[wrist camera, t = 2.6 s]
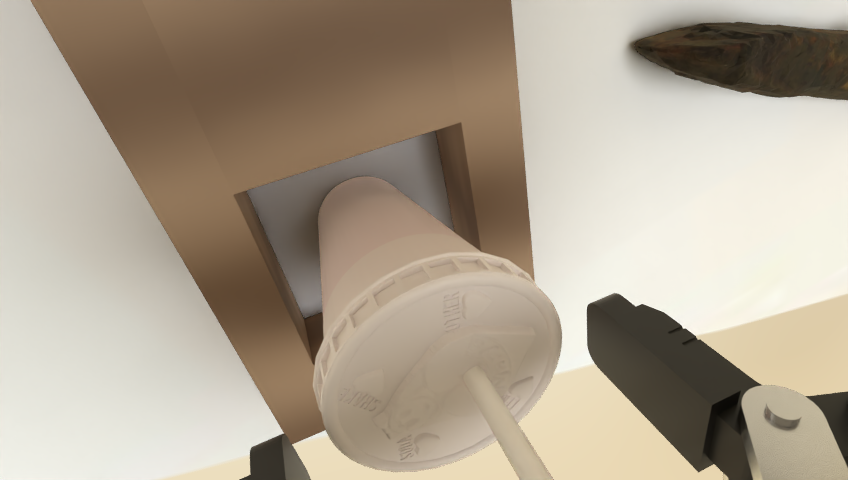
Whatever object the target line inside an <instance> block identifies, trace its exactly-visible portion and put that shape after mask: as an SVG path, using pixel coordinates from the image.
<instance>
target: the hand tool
mask: <svg viewBox="0 0 848 480" xmlns="http://www.w3.org/2000/svg"><path fill="white" fill-rule="evenodd" d="M634 45H635V48H636V50H637V52H639V53H640V54H641V55H643V56H644V57H646V58H647V59H648V60H649V61H651V62H655V63H657V64H658V65H660V66H663V67H666V68H669V69H670V70H671V71H672V72H674V73H675V74H676V75H679V76H683V77H687V78H690V79H694V80H699V81H702V82H704V83H707V84H711V85H717V86H719V87H723V88H727V89H731V90H735V91H739V92H742V93H743V92H752V93H755V94H759V95H764V96H770V97H779V98H780V97H795V96H811V97H817V98H818V97H820V98H827V99H837V100H848V31H842V30H823V29H808V28H798V27H790V26H783V25H759V24H752V23H743V22H736V23H704V24H699V25H697V26H693V27H685V28H681V29H677V30H673V31H668V32H664V33H661V34H658V35H655V36H651V37H647V38H644V39H641V40H639V41H637V42H636V43H635V44H634Z"/></svg>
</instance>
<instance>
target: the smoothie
mask: <svg viewBox="0 0 848 480" xmlns="http://www.w3.org/2000/svg"><path fill="white" fill-rule="evenodd" d="M318 232H319V251H320V270H321V289H322V307H323V335H324V339H323V342H322V344H321V346H320V349H319V351H318V353H317V355H316V359H315V369H314V378H313V388H314V392H315V396H316V399H317V403H318V407H319V410H320V412H321V413H322V418H323V423H324V426H325V429H326V432H327V434H328V436H329V437H330V439H331V441H332V442H333V443H334V445H335V446H336V447H337V448H338V449H339V450H340V451H341V452H342V453H343V454H344V455H346V456H347V457H348V458H350V459H351V460H353V461H355V462H357V463H359V464H361V465H364V466H367V467H370V468H373V469H377V470H383V471H391V472H415V471H421V470H427V469H433V468H438V467H441V466H444V465H447V464H450V463H454V462H456V461H459V460H461V459H463V458H466V457H468V456H470V455H472V454H475V453H477V452H478V451H480V450H482V449H484V448H485V447H487V446H489V445H490V444H492V443H494V442H495V441H496V440H497V441H498V442H499V444H500V446H501V448H502V449H503V451H504V453H505V455H506V456H507V458H508V460H509V462H510V463H511V465H512V467H513V469H514V470H515V472H516V474H517V475H518V477H519V479H520V480H554V479H553V478H552V476H551V475H550V473H549V472H548V470H547V468H546V467H545V465H544V464H543V462H542V461H541V459H540V457H539V456H538V455H537V453H536V451H535V450H534V448H533V447H532V445H531V443H530V442H529V440H528V439H527V437H526V436H525V434H524V433H523V431H522V430H521V428H520V426H519V425H518V423H519V422H520V421H521V420H522V419H523V418H524V417H525V416H526V415H527V414H528V413H529V411H530V410H531V409H532V408H533V407H534V405H535V404H536V403H537V402H538V401H539V399H540V398H541V396H542V395H543V393H544V391H545V390H546V388H547V386H548V385H549V383H550V381H551V379H552V376H553V374H554V372H555V369H556V367H557V364H558V360H559V356H560V351H561V345H562V331H561V324H560V319H559V317H558V314H557V311H556V309H555V307H554V305H553V304H552V302H551V301H550V299H549V298H548V297H547V296H546V295H545V294H544V293H543V292H542V291H541V290H540V289H539V288H538V287H537V286H536V284H535V283H534V281H533V280H532V278H531V277H530V275H529V274H528V273H527V272H525V271H524V270H522V269H521V268H519V267H518V266H517V265H515V264H514V263H512V262H511V261H509V260H508V259H504V258H501V257H497V256H494V255H490V254H487V253H483V252H480V251H479V250H478V249H477V248H475V247H474V246H473V245H471V244H469V243H468V242H467V241H465V240H464V239H463V238H461V237H460V236H459V235H457V234H456V233H455V232H453V231H452V230H451V229H449V228H448V227H447V226H446V225H444V224H443V223H442V222H440V221H439V220H438V219H436V218H435V217H434V216H432V215H431V214H430V213H428V212H427V211H426V210H424V209H423V208H422V207H420V206H419V205H418V204H416V203H415V202H414V201H412V200H411V199H410V198H408V197H407V196H406V195H405V194H403V193H402V192H401V191H399V190H398V189H397V188H395V187H394V186H393V185H391V184H390V183H388V182H387V181H385V180H383V179H380V178H376V177H371V176H361V177H355V178H351V179H348V180H346V181H344V182H342V183H340V184H339V185H337V186H336V187H335V188H333V189H332V190H331V191H330V192H329V193H328V195H327V196H326V197H325V199H324V201H323V202H322V204H321V207H320V210H319V214H318Z"/></svg>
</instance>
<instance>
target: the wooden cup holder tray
mask: <svg viewBox="0 0 848 480" xmlns="http://www.w3.org/2000/svg"><path fill="white" fill-rule="evenodd" d="M31 2H32V4H33V5H34V7H35V9H36V11H37V12H38V14H39V16H40V17H41V19H42V21H43V23H44V24H45V26H46V28H47V29H48V31H49V33H50V34H51V36H52V38H53V40H54V41H55V43H56V45H57V46H58V48H59V50H60V52H61V53H62V55H63V57H64V58H65V60H66V62H67V63H68V65H69V67H70V69H71V70H72V72H73V74H74V75H75V77H76V79H77V81H78V82H79V84H80V86H81V87H82V89H83V91H84V92H85V94H86V96H87V98H88V99H89V101H90V103H91V104H92V106H93V108H94V110H95V111H96V113H97V115H98V116H99V118H100V120H101V122H102V123H103V125H104V127H105V128H106V130H107V132H108V133H109V135H110V137H111V139H112V140H113V142H114V144H115V145H116V147H117V149H118V151H119V152H120V154H121V156H122V157H123V159H124V161H125V162H126V164H127V166H128V168H129V169H130V171H131V173H132V174H133V176H134V178H135V180H136V181H137V183H138V185H139V186H140V188H141V190H142V191H143V193H144V195H145V197H146V198H147V200H148V202H149V203H150V205H151V207H152V209H153V210H154V212H155V214H156V215H157V217H158V219H159V220H160V222H161V224H162V226H163V227H164V229H165V231H166V232H167V234H168V236H169V238H170V239H171V241H172V243H173V244H174V246H175V248H176V249H177V251H178V253H179V255H180V256H181V258H182V260H183V261H184V263H185V265H186V267H187V268H188V270H189V272H190V273H191V275H192V277H193V278H194V280H195V282H196V284H197V285H198V287H199V289H200V290H201V292H202V294H203V296H204V297H205V299H206V301H207V302H208V304H209V306H210V307H211V309H212V311H213V313H214V314H215V316H216V318H217V319H218V321H219V323H220V325H221V326H222V328H223V330H224V331H225V333H226V335H227V336H228V338H229V340H230V342H231V343H232V345H233V347H234V348H235V350H236V352H237V354H238V355H239V357H240V359H241V360H242V362H243V364H244V365H245V367H246V369H247V371H248V372H249V374H250V376H251V377H252V379H253V381H254V383H255V384H256V386H257V388H258V389H259V391H260V393H261V394H262V396H263V398H264V400H265V401H266V403H267V405H268V406H269V408H270V410H271V412H272V413H273V415H274V417H275V418H276V420H277V422H278V424H279V425H280V427H281V429H282V430H283V432H284V434H285V435H286V436H287V437H288V439H289V440H290V442H291V444H294V443H296V442H299V441H301V440H303V439H306V438H308V437H310V436H313V435H315V434H317V433H320V432H322V431H324V430H326V429H325V426H324V423H323V418H322V413H321V412H320V410H319V407H318V403H317V399H316V396H315V392H314V388H313V378H314V369H315V359H316V355H317V353H318V351H319V349H320V346H321V344H322V342H323V339H324V335H323V312H322V313H320V314H317V315H314V316H312V317H309V318H306V319H304V318H303V316H302V314H301V311H300V309H299V307H298V305H297V302H296V300H295V298H294V296H293V294H292V291H291V289H290V287H289V285H288V282H287V280H286V278H285V276H284V274H283V271H282V269H281V267H280V265H279V262H278V260H277V258H276V256H275V254H274V251H273V249H272V247H271V245H270V242H269V240H268V238H267V236H266V234H265V231H264V229H263V227H262V225H261V222H260V220H259V218H258V216H257V214H256V211H255V209H254V207H253V205H252V202H251V200H250V198H249V196H248V194H247V191H246V190H249V189H253V188H256V187H259V186H262V185H265V184H268V183H271V182H275V181H278V180H281V179H284V178H287V177H290V176H293V175H297V174H300V173H303V172H306V171H309V170H312V169H315V168H319V167H322V166H325V165H328V164H331V163H334V162H337V161H341V160H344V159H347V158H350V157H353V156H356V155H360V154H363V153H366V152H369V151H372V150H375V149H378V148H382V147H385V146H388V145H391V144H394V143H397V142H400V141H404V140H407V139H410V138H413V137H416V136H419V135H422V134H426V133H429V132H432V131H436V136H437V142H438V147H439V152H440V157H441V163H442V168H443V173H444V179H445V184H446V189H447V195H448V200H449V205H450V211H451V216H452V221H453V226H454V232H455V233H456V234H457V235H459V236H460V237H461V238H463V239H464V240H465V241H467V242H468V243H469V244H471V245H473V246H474V247H475V248H477V249H478V250H479V251H480V252H483V253H487V254H490V255H494V256H497V257H501V258H504V259H508V260H509V261H511V262H512V263H514V264H515V265H517V266H518V267H519V268H521V269H522V270H524V271H525V272H527V273H528V274H529V275H530V277H531V278H532V280H533V281H534V269H533V257H532V245H531V234H530V222H529V210H528V198H527V186H526V174H525V162H524V150H523V138H522V126H521V114H520V102H519V90H518V78H517V66H516V55H515V43H514V31H513V19H512V7H511V0H31ZM534 283H535V281H534Z"/></svg>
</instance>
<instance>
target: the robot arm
mask: <svg viewBox="0 0 848 480" xmlns="http://www.w3.org/2000/svg"><path fill="white" fill-rule="evenodd" d="M587 344H588V350H589V353H590V355H591V357H592V359H593V361H594V363H595V364H596V365H597V367H598V368H599V369H600V370H601V371H602V372H603V373H604V374H605V375H606V376H607V377H608V378H609V379H610V380H611V382H613V384H614V385H615V386H616V387H617V388H618V389H619V390H620V391H621V392H622V393H623V394H624V395H625V396H626V397H627V398H628V399H629V400H630V401H631V402H632V403H633V405H634V406H635V407H636V408H637V409H638V410H639V411H640V412H641V413H642V414H643V415H644V416H645V417H646V418H647V419H648V420H649V421H650V422H651V423H652V424H653V425H654V426H655V427H656V428H657V429H658V430H659V432H660V433H661V434H662V435H663V436H664V437H665V438H666V439H667V440H668V441H669V442H670V443H671V444H672V445H673V446H674V447H675V448H676V449H677V450H678V451H679V452H680V453H681V455H682V456H684V458H685V459H686V460H687V461H688V462H689V463H690V464H691V465H692V466H693V467H694V468H695V469H696V470H697V471H698V472H700V471H701V470H704V469H705V468H707V467H709V466H711V465H713V464H715V465H716V466H717V467H718V468H719V469H720V470H721V471H722V472H723V480H848V392H840V393H832V394H824V395H816V396H804V395H802V394H800V393H798V392H796V391H794V390H791V389H788V388H785V387H780V386H775V385H761V384H759V383H757V382H756V381H754V380H753V379H752V378H750V377H749V376H748V375H746V374H745V373H744V372H742V371H741V370H740V369H738V368H737V367H736V366H734V365H733V364H732V363H730V362H729V361H728V360H727V359H725V358H724V357H722V356H721V355H720V354H719V353H717V352H716V351H715V350H713V349H712V348H711V347H709V346H708V345H707V344H705V343H704V342H703V341H701V340H697V338H696V336H695V335H693V334H692V333H691V332H689V331H688V330H687V329H683V328H682V326H681V325H680V324H679V323H677V322H676V321H675V320H673V319H672V318H671V317H669V316H668V315H667V314H665V313H664V312H661V311H659V310H656V309H654V308H651V307H649V306H646V305H644V304H641V305H639V306H637V307H635V306H634V305H633V304H632V303H630V302H629V301H628V300H626V299H625V298H624V297H623V296H621V295H619V294H616V293H614V294H611V295H609V296H607V297H604V298H602V299H600V300H597V301H595V302H593V303H590V304H589V305H588V307H587ZM250 472H251V475H249V476H247V477H244V478H242V479H240V480H311V479H310V477H309V474H308V472H307V470H306V468H305V466H304V465H303V463H302V461H301V459H300V458H299V456H298V454H297V452H296V451H295V449H294V447H293V446H292V444H291V442H290V440H289V439H288V437H287V436H286V435H285V434H281V435H279V436H277V437H274V438H272V439H270V440H267V441H265V442H263V443H260V444H258V445H256V446H253V447H252V448H251V450H250Z"/></svg>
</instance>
